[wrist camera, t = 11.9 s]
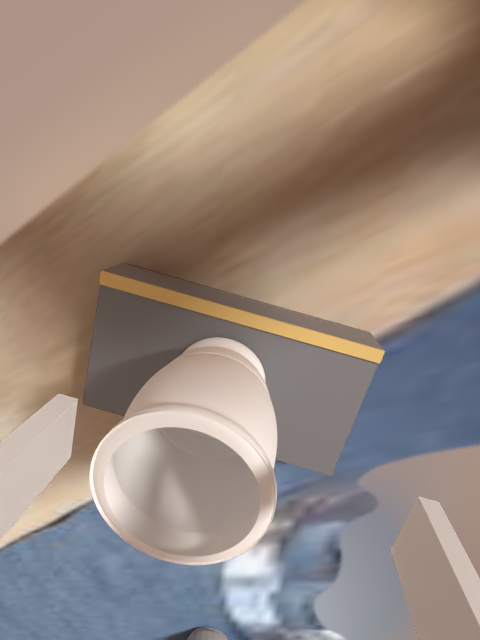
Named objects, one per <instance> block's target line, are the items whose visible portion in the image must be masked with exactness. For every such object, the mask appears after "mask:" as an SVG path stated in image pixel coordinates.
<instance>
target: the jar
mask: <svg viewBox="0 0 480 640" xmlns="http://www.w3.org/2000/svg"><path fill="white" fill-rule="evenodd" d="M276 452H277V424H276V417H275V412H274V408H273V405H272V402H271V399H270V395H269V391H268V388H267V386H266V383H265V373H264V369H263V367H262V364H261V362H260V361H259V359H258V358H257V356H256V355H255V354H254V353H253V352H252V351H251V350H250V349H249V348H248V347H246V346H245V345H243V344H241V343H239V342H237V341H235V340H232V339H228V338H222V337H212V338H206V339H203V340H200V341H198V342H196V343H194V344H192V345H191V346H189V347H188V348H187V349H186V350H185V351H184V352H183V353H182V355H180V356H179V357H177V358H176V359H174V360H173V361H172V362H170V363H169V364H168V365H166V366H165V367H163V368H162V369H161V370H159V371H158V372H157V373H156V374H155V375H153V376H152V377H151V378H150V379H149V380H148V381H147V382H146V384H145V385H144V386H143V387H142V388H141V390H140V391H139V392H138V394H137V395H136V396H135V398H134V399H133V401H132V403H131V404H130V406H129V408H128V410H127V412H126V414H125V416H124V418H123V420H121V421H120V422H119V423H118V424H116V425H115V426H114V427H113V428H112V429H111V430H110V431H109V433H108V434H107V435H106V436H105V437H104V438H103V439H102V441H101V442H100V444H99V445H98V447H97V449H96V451H95V453H94V455H93V458H92V462H91V466H90V487H91V492H92V496H93V499H94V502H95V504H96V506H97V508H98V510H99V512H100V514H101V515H102V517H103V518H104V520H105V521H106V522H107V524H108V525H109V526H110V527H111V528H112V529H113V531H114V532H115V533H117V534H118V535H119V536H120V537H121V538H122V539H123V540H125V541H126V542H127V543H129V544H130V545H132V546H133V547H135V548H136V549H138V550H140V551H142V552H144V553H146V554H148V555H150V556H153V557H155V558H158V559H161V560H164V561H168V562H172V563H178V564H185V565H207V564H214V563H219V562H223V561H227V560H230V559H232V558H235V557H237V556H239V555H241V554H243V553H245V552H246V551H248V550H249V549H250V548H252V547H253V546H254V545H255V544H256V543H258V542H259V540H260V539H261V538H262V537H263V536H264V534H265V533H266V531H267V530H268V528H269V526H270V524H271V522H272V519H273V516H274V512H275V507H276V500H277V485H276V479H275V474H274V471H273V470H274V465H275V459H276Z"/></svg>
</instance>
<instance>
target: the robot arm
mask: <svg viewBox="0 0 480 640" xmlns="http://www.w3.org/2000/svg"><path fill="white" fill-rule="evenodd" d="M77 403H78V399H77V398H73V397H70V396H66V395H63V394H57V395H56V396H55V397H54V398H53V399H51V400H50V401H49V402H48V403H47V404H45V405H44V406H43V407H42V408H40V409H39V410H38V411H37V412H36V413H34V414H33V415H32V416H31V417H30V418H28V419H27V420H26V421H25V422H24V423H22V424H21V425H20V426H19V427H18V428H16V429H15V430H14V431H13V432H12V433H10V434H9V435H8V436H7V437H6V438H4V439H3V440H2V441H1V442H0V540H1V539H2V538H3V537H4V536H5V535H6V533H7V532H8V531H9V530H10V529H11V527H12V526H13V525H14V524H15V523H16V522H17V520H18V519H19V518H20V517H21V516H22V514H23V513H24V512H25V511H26V510H27V509H28V507H29V506H30V505H31V504H32V503H33V501H34V500H35V499H36V498H37V497H38V496H39V494H40V493H41V492H42V491H43V490H44V488H45V487H46V486H47V485H48V484H49V483H50V481H51V480H52V479H53V478H54V477H55V475H56V474H57V473H58V472H59V471H60V470H61V468H62V467H63V466H64V465H65V464H66V463H67V461H68V460H69V459H70V458H71V452H72V444H73V436H74V427H75V419H76V411H77ZM390 551H391V554H392V557H393V560H394V563H395V566H396V570H397V573H398V576H399V579H400V582H401V585H402V589H403V592H404V595H405V598H406V602H407V605H408V608H409V611H410V614H411V617H412V620H413V624H414V627H415V630H416V633H417V636H418V639H419V640H480V578H479V576H478V575H477V573H476V571H475V569H474V567H473V565H472V563H471V561H470V560H469V558H468V556H467V554H466V552H465V550H464V548H463V546H462V545H461V543H460V541H459V539H458V537H457V535H456V533H455V531H454V530H453V528H452V526H451V524H450V522H449V520H448V518H447V517H446V515H445V513H444V511H443V509H442V507H441V505H440V503H439V502H437V501H433V500H430V499H426V498H423V497H418V498H417V500H416V502H415V504H414V506H413V508H412V510H411V512H410V514H409V516H408V517H407V520H406V521H405V523H404V526H403V528H402V529H401V531H400V533H399V535H398V537H397V539H396V541H395V543H394V544H393V547H392V548H391V550H390Z"/></svg>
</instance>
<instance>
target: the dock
mask: <svg viewBox="0 0 480 640" xmlns="http://www.w3.org/2000/svg"><path fill="white" fill-rule="evenodd" d="M99 284H100V290H99V297H98V304H97V310H96V317H95V324H94V330H93V337H92V344H91V350H90V357H89V364H88V370H87V377H86V384H85V390H84V397H83V404H84V405H88V406H91V407H94V408H98V409H101V410H105V411H108V412H112V413H115V414H119V415H122V416H125V414H126V412H127V410H128V408H129V406H130V404H131V403H132V401H133V399H134V398H135V396H136V395H137V394H138V392H139V391H140V390H141V388H142V387H143V386H144V385H145V384H146V382H147V381H148V380H149V379H150V378H151V377H152V376H153V375H155V374H156V373H157V372H158V371H159V370H161V369H162V368H163V367H165V366H166V365H168V364H169V363H170V362H172V361H173V360H174V359H176V358H177V357H179V356H180V355H182V353H183V352H184V351H185V350H186V349H187V348H188V347H189V346H191V345H192V344H194V343H196V342H198V341H200V340H203V339H206V338H212V337H222V338H228V339H232V340H235V341H237V342H239V343H241V344H243V345H245V346H246V347H248V348H249V349H250V350H251V351H252V352H253V353H254V354H255V355H256V356H257V358H258V359H259V361H260V362H261V364H262V367H263V369H264V373H265V383H266V386H267V388H268V391H269V395H270V399H271V402H272V405H273V408H274V412H275V417H276V424H277V452H276V459H275V460H278V461H282V462H285V463H289V464H292V465H296V466H299V467H303V468H306V469H309V470H313V471H316V472H320V473H323V474H327V475H330V476H332V473H333V471H334V469H335V466H336V464H337V462H338V459H339V457H340V454H341V452H342V450H343V447H344V445H345V442H346V440H347V438H348V435H349V433H350V430H351V428H352V426H353V423H354V421H355V418H356V416H357V414H358V411H359V409H360V407H361V404H362V402H363V399H364V397H365V395H366V392H367V390H368V387H369V385H370V383H371V380H372V378H373V375H374V373H375V371H376V368H377V366H378V363H379V364H380V362H381V360H382V357H383V355H384V353H385V351H384V350H383V348H382V347H381V346H380V345H379V343H378V342H377V341H376V340H375V338H374V337H373V336H372V335H371V333H370V332H366V331H363V330H359V329H356V328H352V327H349V326H345V325H342V324H338V323H335V322H331V321H327V320H324V319H320V318H317V317H313V316H310V315H306V314H303V313H299V312H296V311H292V310H288V309H285V308H281V307H278V306H274V305H271V304H267V303H264V302H260V301H257V300H253V299H249V298H246V297H242V296H239V295H235V294H232V293H228V292H225V291H221V290H218V289H214V288H210V287H207V286H203V285H200V284H196V283H193V282H189V281H186V280H182V279H179V278H175V277H172V276H168V275H164V274H161V273H157V272H154V271H150V270H147V269H143V268H140V267H136V266H133V265H129V264H125V263H124V264H121V265H118V266H115V267H112V268H109V269H106V270H103V271H101V274H100V280H99Z"/></svg>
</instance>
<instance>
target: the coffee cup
mask: <svg viewBox="0 0 480 640" xmlns="http://www.w3.org/2000/svg"><path fill="white" fill-rule="evenodd" d="M187 640H228V638H227V637H226V636H225V634H224V633H222V632H221V631H219V630H217V629H215V628H211V627H201V628H197V629H195V630H194V631H192V632H191V634H190V636H189V637H188V638H187Z"/></svg>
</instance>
